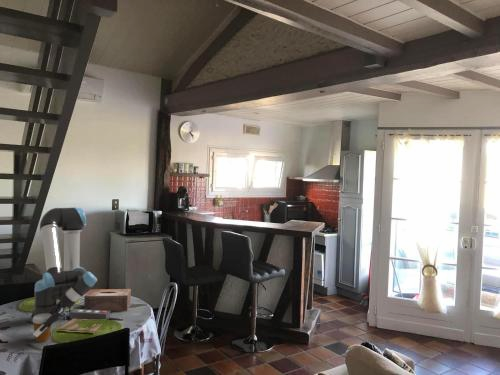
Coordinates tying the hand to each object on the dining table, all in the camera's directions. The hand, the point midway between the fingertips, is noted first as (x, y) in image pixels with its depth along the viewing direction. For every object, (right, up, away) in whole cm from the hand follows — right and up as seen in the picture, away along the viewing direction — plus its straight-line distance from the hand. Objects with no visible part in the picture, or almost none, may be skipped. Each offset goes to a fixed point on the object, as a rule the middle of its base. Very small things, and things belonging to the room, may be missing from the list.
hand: (35, 331), depth 203 cm
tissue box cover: (+18, -4, +53) cm, 56 cm away
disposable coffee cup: (+3, -5, +1) cm, 6 cm away
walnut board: (+16, -4, +19) cm, 26 cm away
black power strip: (+19, -4, +33) cm, 38 cm away
